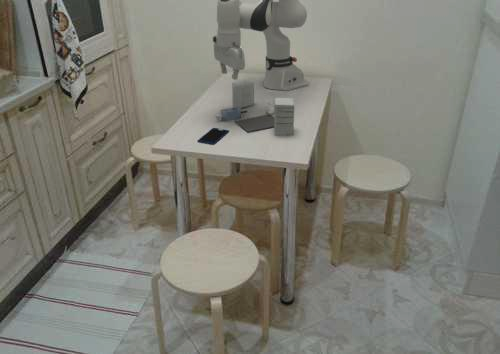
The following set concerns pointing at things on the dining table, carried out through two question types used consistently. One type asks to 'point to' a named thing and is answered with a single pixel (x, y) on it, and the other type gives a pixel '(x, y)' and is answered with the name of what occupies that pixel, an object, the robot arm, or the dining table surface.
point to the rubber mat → (256, 123)
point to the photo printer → (243, 93)
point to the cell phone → (213, 136)
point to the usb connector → (230, 114)
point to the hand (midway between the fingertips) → (229, 76)
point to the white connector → (270, 108)
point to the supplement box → (284, 116)
